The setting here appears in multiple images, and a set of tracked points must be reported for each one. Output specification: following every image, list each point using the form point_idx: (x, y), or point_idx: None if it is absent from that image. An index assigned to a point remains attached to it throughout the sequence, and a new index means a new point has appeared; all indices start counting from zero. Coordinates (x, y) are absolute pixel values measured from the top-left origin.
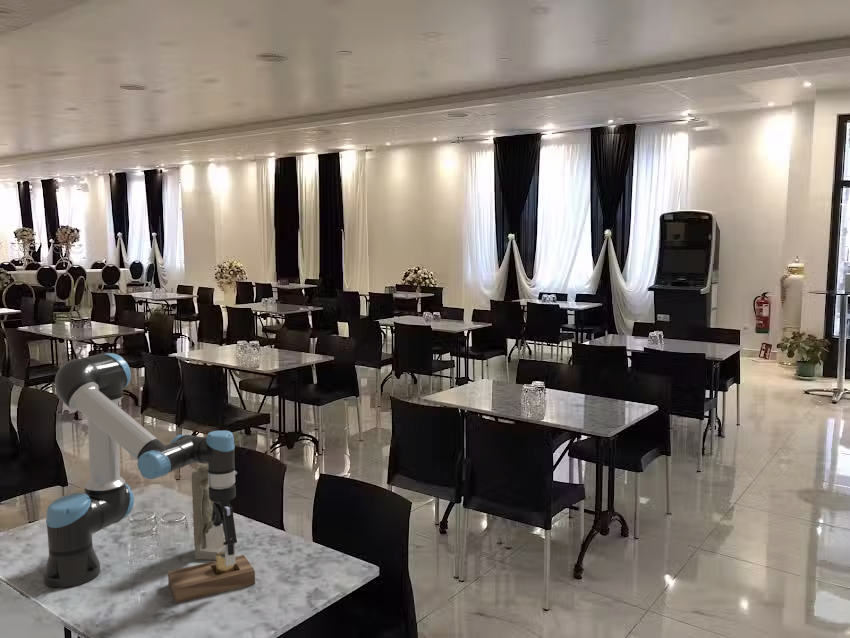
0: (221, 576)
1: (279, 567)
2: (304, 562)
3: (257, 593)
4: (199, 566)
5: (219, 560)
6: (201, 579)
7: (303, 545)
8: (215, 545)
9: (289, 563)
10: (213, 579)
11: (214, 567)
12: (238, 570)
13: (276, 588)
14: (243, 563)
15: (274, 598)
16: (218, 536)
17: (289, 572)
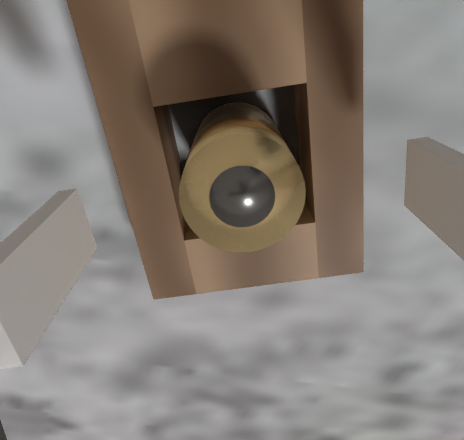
0: (130, 138)
1: (276, 354)
2: (278, 422)
3: None
4: (332, 5)
5: (192, 154)
6: (120, 7)
7: (419, 437)
8: (417, 149)
9: (294, 384)
10: (102, 88)
11: (304, 106)
12: (179, 231)
13: (100, 325)
14: (256, 261)
15: None
16: (453, 201)
17: (219, 376)
